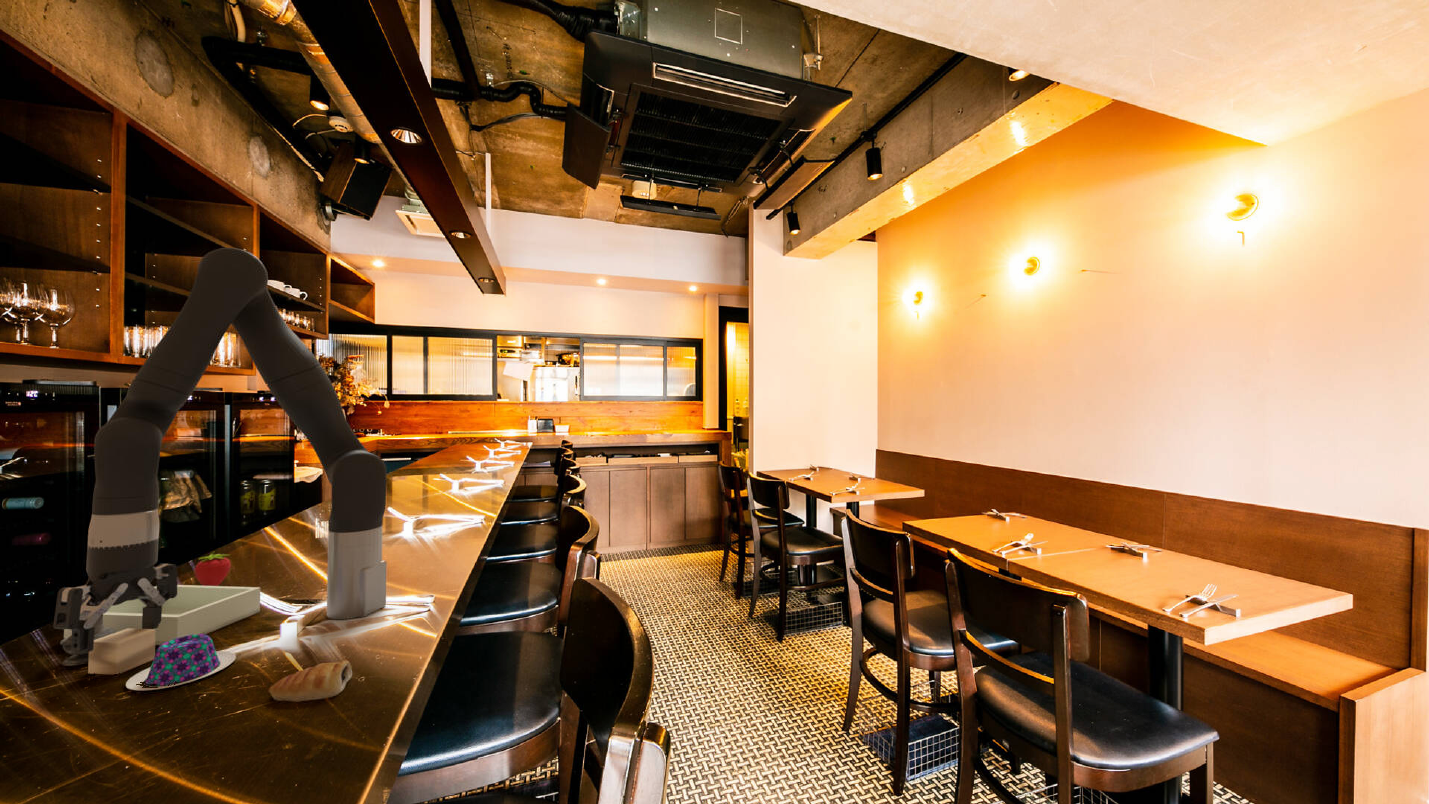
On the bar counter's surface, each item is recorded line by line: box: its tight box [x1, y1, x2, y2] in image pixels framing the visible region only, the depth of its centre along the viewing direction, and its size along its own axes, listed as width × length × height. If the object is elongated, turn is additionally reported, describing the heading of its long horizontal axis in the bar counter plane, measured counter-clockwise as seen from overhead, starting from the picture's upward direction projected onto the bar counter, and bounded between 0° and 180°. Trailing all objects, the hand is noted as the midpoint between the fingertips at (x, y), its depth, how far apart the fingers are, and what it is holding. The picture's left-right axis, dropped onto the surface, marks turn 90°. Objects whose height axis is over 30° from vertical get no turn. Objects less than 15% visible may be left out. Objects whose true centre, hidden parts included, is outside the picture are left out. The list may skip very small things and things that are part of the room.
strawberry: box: [194, 552, 232, 586], centre depth 115 cm, size 6×8×10 cm
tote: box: [63, 584, 261, 646], centre depth 97 cm, size 22×15×5 cm
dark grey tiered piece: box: [59, 594, 116, 667], centre depth 84 cm, size 6×6×12 cm
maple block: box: [87, 628, 156, 675], centre depth 81 cm, size 5×5×5 cm
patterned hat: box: [125, 634, 237, 691], centre depth 80 cm, size 12×12×5 cm
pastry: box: [268, 659, 353, 703], centre depth 75 cm, size 9×7×4 cm
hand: (118, 639), depth 81 cm, fingers open, 8 cm apart
